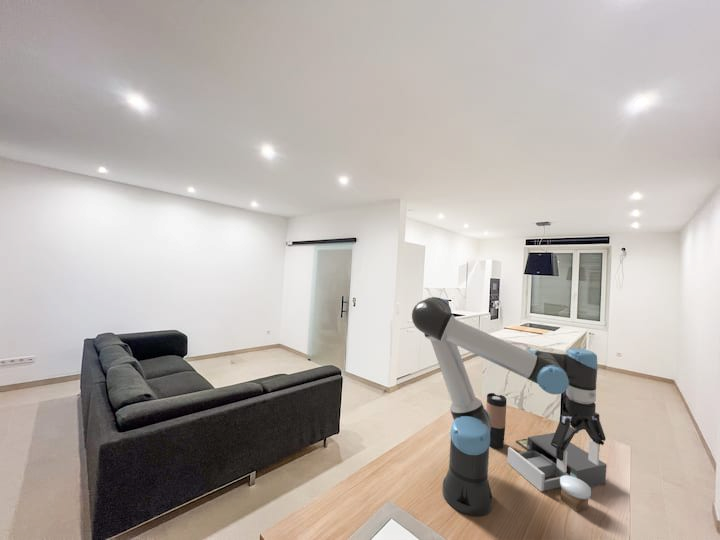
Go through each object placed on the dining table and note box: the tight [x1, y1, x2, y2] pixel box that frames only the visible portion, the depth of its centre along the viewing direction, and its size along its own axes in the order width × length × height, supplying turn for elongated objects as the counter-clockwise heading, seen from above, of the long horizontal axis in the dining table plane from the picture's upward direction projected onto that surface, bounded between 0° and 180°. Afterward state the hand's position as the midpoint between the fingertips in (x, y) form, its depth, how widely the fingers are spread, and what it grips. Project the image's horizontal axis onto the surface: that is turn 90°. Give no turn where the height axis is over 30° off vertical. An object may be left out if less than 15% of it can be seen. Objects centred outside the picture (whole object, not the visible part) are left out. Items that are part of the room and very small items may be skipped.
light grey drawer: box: [506, 446, 570, 492], centre depth 109 cm, size 13×15×6 cm
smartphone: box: [515, 438, 557, 464], centre depth 122 cm, size 8×15×1 cm, turn 18°
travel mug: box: [485, 392, 507, 450], centre depth 126 cm, size 8×8×20 cm
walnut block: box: [560, 487, 589, 513], centre depth 95 cm, size 5×5×5 cm
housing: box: [526, 432, 607, 489], centre depth 113 cm, size 15×20×7 cm
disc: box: [560, 475, 592, 500], centre depth 95 cm, size 8×8×2 cm
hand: (577, 465), depth 95 cm, fingers open, 13 cm apart
